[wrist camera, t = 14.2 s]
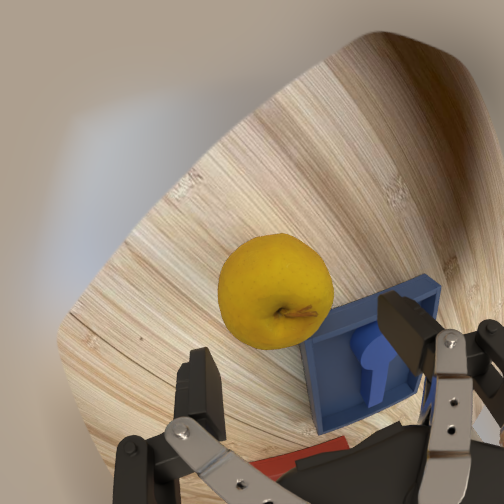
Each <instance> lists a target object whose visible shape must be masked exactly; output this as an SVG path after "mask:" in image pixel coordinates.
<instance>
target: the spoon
mask: <svg viewBox="0 0 504 504" xmlns="http://www.w3.org/2000/svg"><path fill="white" fill-rule="evenodd" d="M350 348H351V350H352V351H353V353H354V355H355V356H356V358H357V359H358V361H359V362H360V364H361V366H362V373H361V389H360V394H361V396H362V398H363V400H364V401H365V403H366V405H367V407H368V408H370V407H372V406H374V405H377V404H379V403H381V402H382V401H383V396H384V391H385V385H386V379H387V373H388V366H389V362H390V361H391V360H393V359H394V358H395V357H396V355H397V352H396V351H395V350H394V348H393V347H392V346H391V345H390V343H389V342H388V341H387V339H386V338H385V337H384V336H383V334H382V333H381V332H380V330H379V327H378V323H377V320H376V321H374V322H371V323H369V324H366V325H364V326H361V327H359V328H357V329H356V330H355V332H354V333H353V335H352V337H351V340H350Z"/></svg>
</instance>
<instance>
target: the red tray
mask: <svg viewBox="0 0 504 504" xmlns="http://www.w3.org/2000/svg"><path fill="white" fill-rule="evenodd" d="M345 449H350V448H349V445H348V443H347V441H346V439H345V436H341V437H339V438H336V439H333V440H331V441H328V442H325V443H322V444H319V445H316V446H313V447H309V448H306V449H303V450H299V451H296V452H292V453H289V454H285V455H281V456H277V457H273V458H269V459H264V460H259V461H255V462H250V463H249V464H251V465H252V466H253V467H255V468H256V469H257V470H259V471H260V472H262V473H263V474H264V475H266V476H267V477H269V478H270V479H272V480H273V481H276V480H277V479H278V478H279V477H280V476H282V475H283V474H284V473H286V472H287V471H289V470H290V469H292V468H294V467H296V464H295V460H298V459H302V458H305V457H309V456H312V455H315V454H319V453H322V452H330V451H338V450H345Z"/></svg>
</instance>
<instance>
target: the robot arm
mask: <svg viewBox="0 0 504 504" xmlns="http://www.w3.org/2000/svg"><path fill="white" fill-rule="evenodd" d="M377 323H378V327H379V330H380V332H381V333H382V334H383V336H384V337H385V338H386V339H387V341H388V342H389V343H390V345H391V346H392V347H393V348H394V350H395V351H396V352H397V354H398V355H399V356H400V358H401V359H402V360H403V361H404V363H405V364H406V365H407V367H408V368H409V369H410V371H411V372H412V373H413V375H414V376H415V377H417V376H418V375H420V374H422V373H424V375H425V376H426V377H425V381H424V390H423V397H422V404H421V411H420V415H419V419H418V422H417V425H407V426H402V425H401V423H400V421H398V422H396V423H394V424H392V425H389V426H387V427H385V428H383V429H381V430H379V431H376V432H375V433H373V434H372V435H371V436H369V437H368V438H366V439H365V440H364V441H362V442H361V443H359V444H358V445H356V446H355V447H353V448H351V449H345V450H338V451H330V452H322V453H319V454H315V455H312V456H309V457H305V458H302V459H298V460H295V464H296V467H294V468H292V469H290V470H289V471H287V472H286V473H284V474H283V475H282V476H280V477H279V478H278V479H277V480H276V481H273V480H272V479H270V478H269V477H267V476H266V475H264V474H263V473H262V472H260V471H259V470H257V469H256V468H255V467H253V466H252V465H251V464H249V463H248V462H247V461H245V460H244V459H243V458H241V457H240V456H239V455H238V454H236V453H235V452H234V451H232V450H230V449H227V448H226V447H225V446H223V445H222V444H221V443H220V442H219V441H225V440H226V430H225V419H224V408H223V396H222V383H221V377H220V373H219V370H218V368H217V366H216V364H215V362H214V360H213V358H212V355H211V353H210V351H209V349H208V348H207V347H203V348H199V349H194V350H191V351H190V360H189V362H187V363H182V365H181V367H180V369H179V370H178V372H177V381H176V382H177V384H176V392H175V405H174V418H173V420H172V421H171V422H170V423H169V424H168V425H167V427H166V429H165V432H163V433H162V434H160V435H157V436H155V437H152V438H149V439H147V440H144V439H143V438H142V437H140V436H137V435H131V436H128V437H125V438H124V439H123V440H122V441H121V442H120V443H119V444H118V447H117V451H116V461H115V472H114V486H113V504H181V496H180V484H179V478H180V477H183V476H186V475H188V474H191V473H194V472H196V473H197V474H198V476H199V477H200V478H201V479H202V480H203V481H204V482H205V483H206V484H207V485H208V486H209V487H210V488H211V489H212V490H213V491H214V492H215V493H216V494H218V495H219V496H220V497H221V498H222V499H223V500H224V501H225V502H227V503H228V504H504V327H503V326H502V325H501V324H500V323H499V322H497V321H495V320H491V319H487V320H484V321H482V322H481V323H480V324H479V326H478V329H477V331H475V332H471V333H467V334H462V333H461V332H459V331H457V330H454V329H444V328H443V327H442V326H441V325H440V324H439V323H438V322H437V321H436V320H435V319H434V318H433V317H432V316H431V315H430V314H429V313H428V312H427V313H426V311H425V310H424V309H423V308H421V306H420V305H419V304H418V303H417V302H416V301H415V300H413V299H411V298H408V297H406V296H404V297H401V296H400V295H399V294H398V293H397V292H396V291H395V290H391V291H388V292H386V293H383V294H380V295H379V296H378V306H377ZM492 361H493V362H494V363H495V364H496V366H497V367H498V368H499V369H500V370H501V372H502V373H503V377H502V376H501V375H500V374H499V372H498V371H497V370H496V369H495V367H494V366H493V365H492V364H491V363H492ZM473 389H474V390H475V391H476V393H477V394H478V395H479V397H480V398H481V400H482V401H483V403H484V404H485V405H486V407H487V408H488V410H489V411H490V413H491V414H492V416H493V417H494V419H495V420H496V422H497V423H498V425H499V426H500V428H501V430H500V441H499V443H500V446H497V445H492V444H488V443H484V442H480V441H476V440H472V439H471V429H472V408H473Z"/></svg>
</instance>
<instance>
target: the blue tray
mask: <svg viewBox="0 0 504 504" xmlns="http://www.w3.org/2000/svg"><path fill="white" fill-rule="evenodd" d="M391 290H395V291H396V292H397V293H398V294H399V295H400V296H401V297H404V296H406V297H408V298H411V299H413V300H415V301H416V302H417V303H418V304H419V305H420V306H421V308H423V309H424V310H425V311H426V313H427V312H428V313H429V314H430V315H431V316H432V317H433V318H434V319H435V320H436V316H437V311H438V305H439V299H440V292H441V285H440V284H438V283H437V282H436V281H434V280H433V279H432V278H430V277H429V276H428V275H426V274H422V275H420V276H418V277H415V278H413V279H411V280H408V281H406V282H403V283H401V284H398V285H396V286H393V287H391V288H388V289H386V290H383V291H381V292H378V293H375V294H373V295H370V296H367V297H365V298H362V299H359V300H357V301H354V302H351V303H348V304H345V305H343V306H340V307H337V308H334V309H331V310H330V311H329V313H328V315H327V317H326V318H325V319H324V321H323V322H322V324H321V325H320V327H319V329H318V330H317V331H316V332H315V333H314V334H313V335H312V336H311V337H309V338H308V339H307V340H305V341H303V342H301V343H299V345H300V351H301V356H302V362H303V367H304V373H305V379H306V384H307V390H308V396H309V402H310V408H311V414H312V420H313V422H314V425H315V428H316V431H317V433H318V436H319V435H322V434H325V433H328V432H331V431H334V430H336V429H339V428H342V427H344V426H347V425H350V424H352V423H355V422H357V421H359V420H362V419H364V418H367V417H369V416H371V415H373V414H376V413H378V412H380V411H382V410H384V409H386V408H388V407H391V406H393V405H395V404H397V403H399V402H401V401H402V400H404V399H406V398H408V397H410V396H412V395H414V394H416V393H417V390H418V387H419V384H420V381H421V378H422V374H423V373H422V374H420V375H418V376H417V377H415V376H414V375H413V373H412V372H411V371H410V369H409V368H408V367H407V365H406V364H405V363H404V361H403V360H402V359H401V358H400V356H399V355H398V354H397V355H396V357H395V358H394V359H393V360H391V361H390V362H389V366H388V373H387V379H386V385H385V391H384V396H383V401H382V402H381V403H379V404H377V405H374V406H372V407H370V408H368V407H367V405H366V403H365V401H364V400H363V398H362V396H361V394H360V389H361V373H362V366H361V364H360V362H359V361H358V359H357V358H356V356H355V355H354V353H353V351H352V350H351V348H350V340H351V337H352V335H353V333H354V332H355V330H356V329H357V328H359V327H361V326H364V325H366V324H369V323H371V322H374V321H376V320H377V306H378V296H379V295H380V294H383V293H386V292H388V291H391Z"/></svg>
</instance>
